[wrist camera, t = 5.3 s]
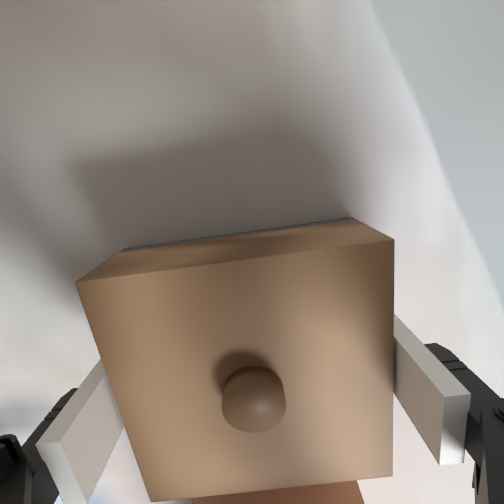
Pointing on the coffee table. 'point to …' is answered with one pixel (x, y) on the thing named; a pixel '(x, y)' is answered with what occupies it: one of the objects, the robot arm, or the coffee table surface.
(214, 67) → the coffee table surface
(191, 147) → the coffee table surface
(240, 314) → the lid
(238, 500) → the peach open box
